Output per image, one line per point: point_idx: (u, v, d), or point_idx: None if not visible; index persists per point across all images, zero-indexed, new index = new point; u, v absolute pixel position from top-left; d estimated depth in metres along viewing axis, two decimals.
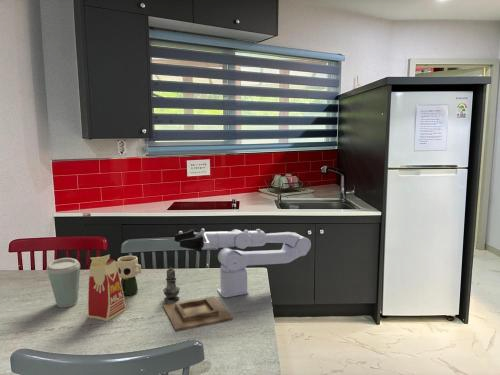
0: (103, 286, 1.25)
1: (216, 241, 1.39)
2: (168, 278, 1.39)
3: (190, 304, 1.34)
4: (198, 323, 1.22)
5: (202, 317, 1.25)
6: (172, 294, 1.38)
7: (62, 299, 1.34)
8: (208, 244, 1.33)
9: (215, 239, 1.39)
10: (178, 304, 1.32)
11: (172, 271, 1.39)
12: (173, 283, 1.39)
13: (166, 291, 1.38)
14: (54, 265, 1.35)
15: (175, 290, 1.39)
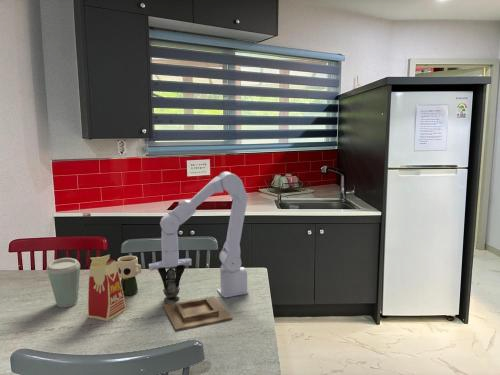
0: (103, 286, 1.25)
1: None
2: (168, 278, 1.39)
3: (190, 304, 1.34)
4: (198, 323, 1.22)
5: (202, 317, 1.25)
6: (172, 294, 1.38)
7: (62, 299, 1.34)
8: (149, 265, 1.36)
9: None
10: (178, 304, 1.32)
11: (172, 271, 1.39)
12: (173, 283, 1.39)
13: (166, 291, 1.38)
14: (54, 265, 1.35)
15: (175, 290, 1.39)
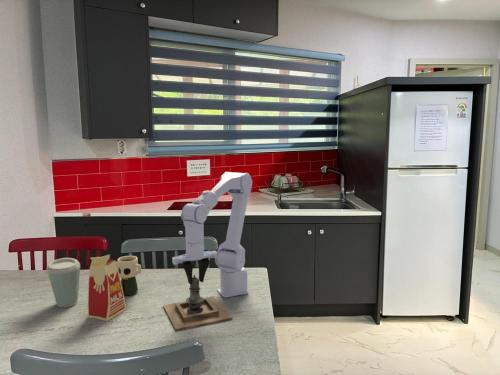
0: (103, 286, 1.25)
1: (186, 244, 1.26)
2: (192, 287, 1.29)
3: None
4: (198, 323, 1.22)
5: (202, 317, 1.25)
6: (197, 305, 1.28)
7: (62, 299, 1.34)
8: (172, 259, 1.24)
9: (186, 244, 1.26)
10: (178, 304, 1.32)
11: (196, 280, 1.29)
12: (197, 293, 1.29)
13: (190, 302, 1.28)
14: (54, 265, 1.35)
15: (200, 300, 1.29)
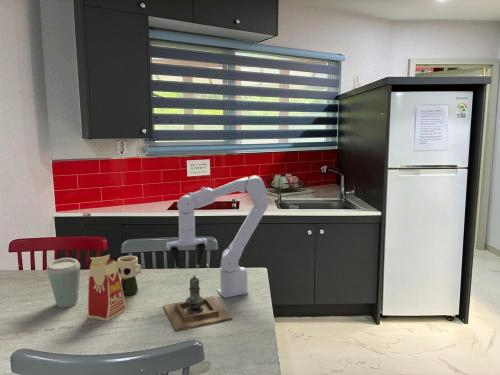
0: (103, 286, 1.25)
1: (179, 231, 1.42)
2: (192, 288, 1.28)
3: None
4: (198, 323, 1.22)
5: (202, 317, 1.25)
6: (197, 305, 1.28)
7: (62, 299, 1.34)
8: None
9: (179, 231, 1.43)
10: (178, 304, 1.32)
11: (196, 280, 1.29)
12: (197, 293, 1.29)
13: (190, 302, 1.28)
14: (54, 265, 1.35)
15: (200, 300, 1.29)
